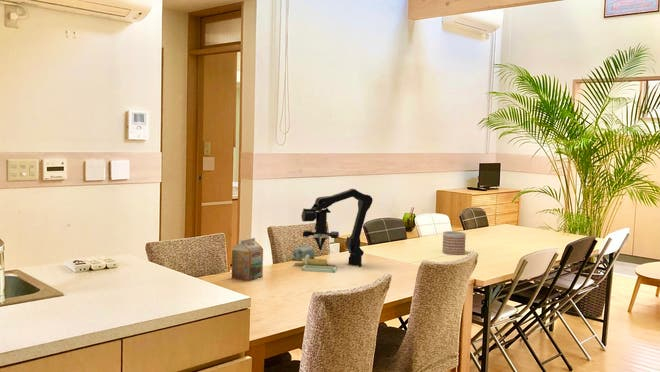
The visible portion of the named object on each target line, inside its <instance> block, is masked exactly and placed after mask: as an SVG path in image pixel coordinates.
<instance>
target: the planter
mask: <svg viewBox="0 0 660 372" xmlns="http://www.w3.org/2000/svg"><path fill="white" fill-rule="evenodd" d="M466 236H467V235H466V232H463V231H456V230H455V231H453V230H452V231H451V230H449V231H448V230H446V231H443V233H442V253H443V254H445V255H453V256H462V255H465V253H466Z"/></svg>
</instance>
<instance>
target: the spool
mask: <svg viewBox="0 0 660 372" xmlns="http://www.w3.org/2000/svg"><path fill="white" fill-rule="evenodd" d="M307 254H308V255H309V259H315V256H316V253H315V250H314V248H313V246H311V245H303V246H298V247H296V248H294V249H293V251H292V256H293V259H294V260H295V261H298V262H302V258H305V256H306V255H307Z"/></svg>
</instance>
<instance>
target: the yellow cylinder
mask: <svg viewBox="0 0 660 372" xmlns="http://www.w3.org/2000/svg"><path fill="white" fill-rule="evenodd" d="M301 263H302V265H305V258H302V261H301ZM327 264H328V260H327V259H326V258H325V259H323V258H321V259H320V258H313V259H308V261H307V265H316V266H327Z"/></svg>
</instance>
